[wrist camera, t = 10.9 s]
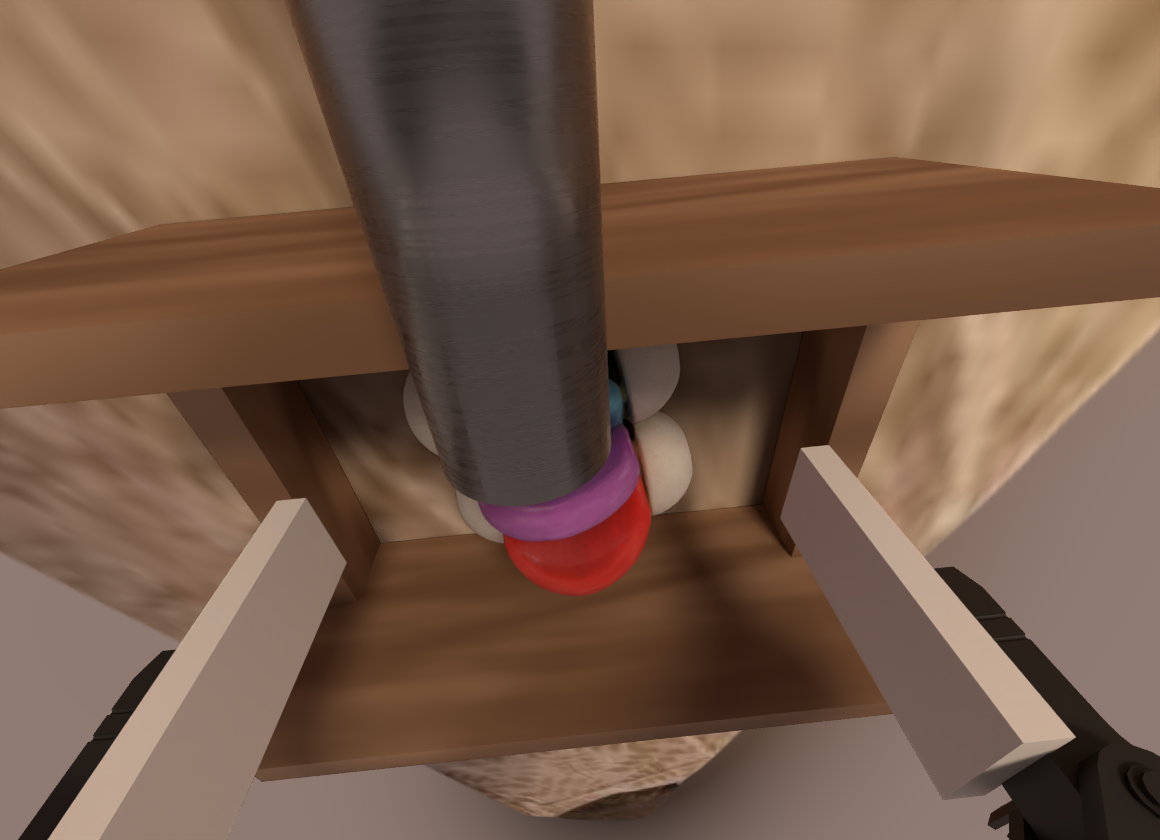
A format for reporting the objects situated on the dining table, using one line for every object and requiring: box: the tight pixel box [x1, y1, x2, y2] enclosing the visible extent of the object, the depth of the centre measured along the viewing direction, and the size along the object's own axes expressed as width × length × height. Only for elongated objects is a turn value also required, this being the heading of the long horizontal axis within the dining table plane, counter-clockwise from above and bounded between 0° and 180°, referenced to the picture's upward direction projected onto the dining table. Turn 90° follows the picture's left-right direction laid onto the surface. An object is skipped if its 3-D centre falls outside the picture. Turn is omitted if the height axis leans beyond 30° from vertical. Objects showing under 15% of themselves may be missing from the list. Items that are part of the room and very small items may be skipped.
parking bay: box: [0, 157, 1160, 782], centre depth 13 cm, size 15×21×8 cm
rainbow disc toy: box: [403, 344, 693, 596], centre depth 14 cm, size 8×10×7 cm
